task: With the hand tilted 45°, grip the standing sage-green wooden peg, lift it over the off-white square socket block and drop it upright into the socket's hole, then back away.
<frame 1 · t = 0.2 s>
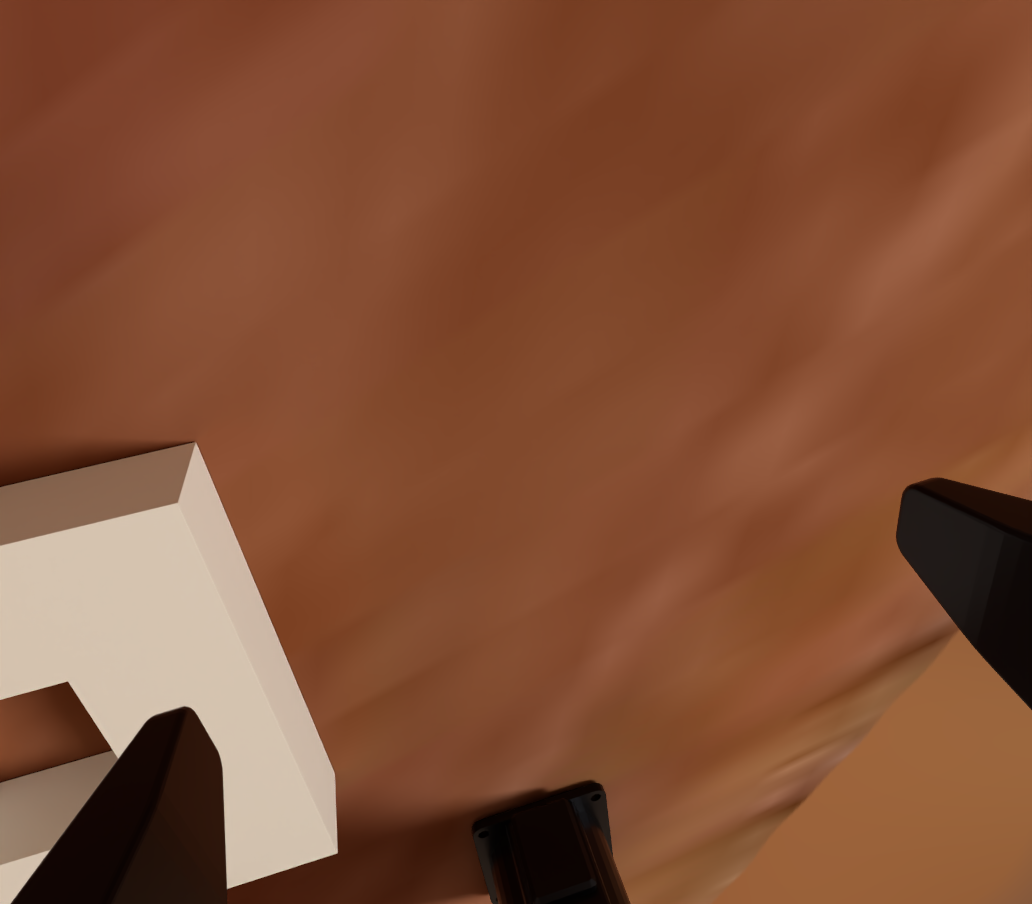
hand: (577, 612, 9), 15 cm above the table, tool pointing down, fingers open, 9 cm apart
socket block: (39, 698, 24), on the table
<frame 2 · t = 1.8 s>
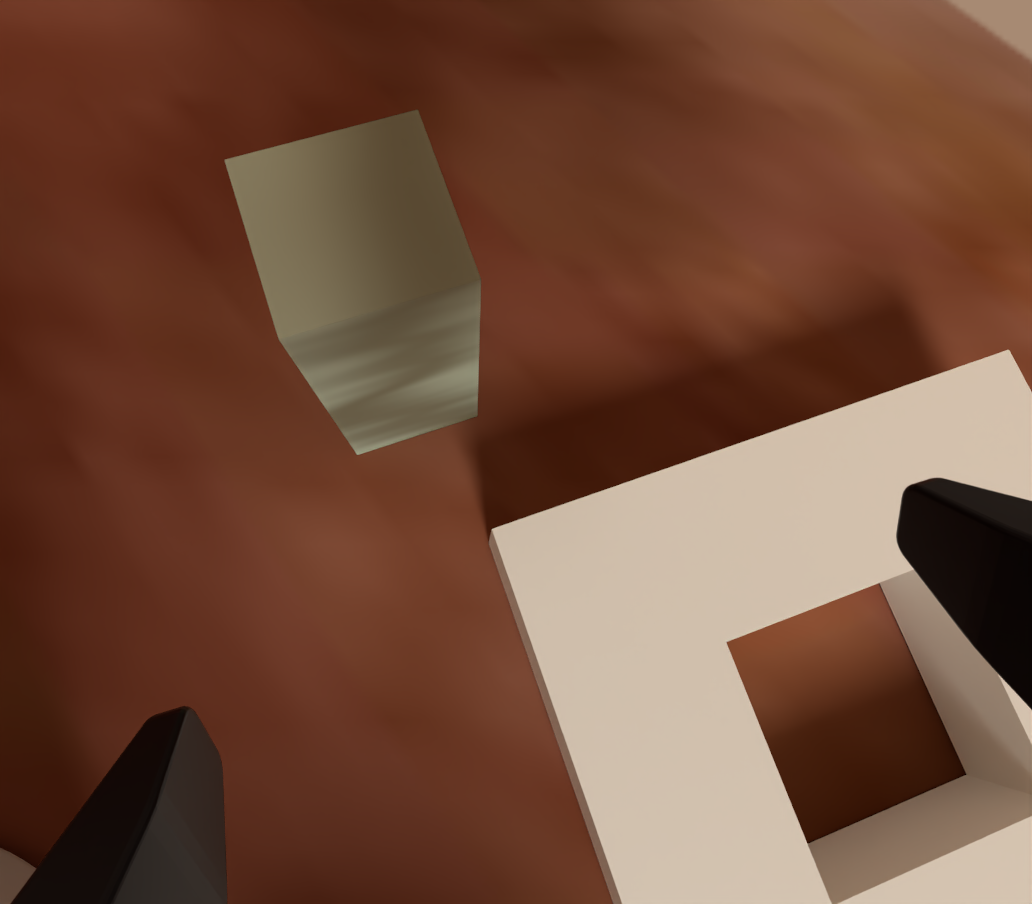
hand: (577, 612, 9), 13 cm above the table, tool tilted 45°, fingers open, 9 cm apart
socket block: (825, 706, 22), on the table
peg: (399, 379, 23), on the table
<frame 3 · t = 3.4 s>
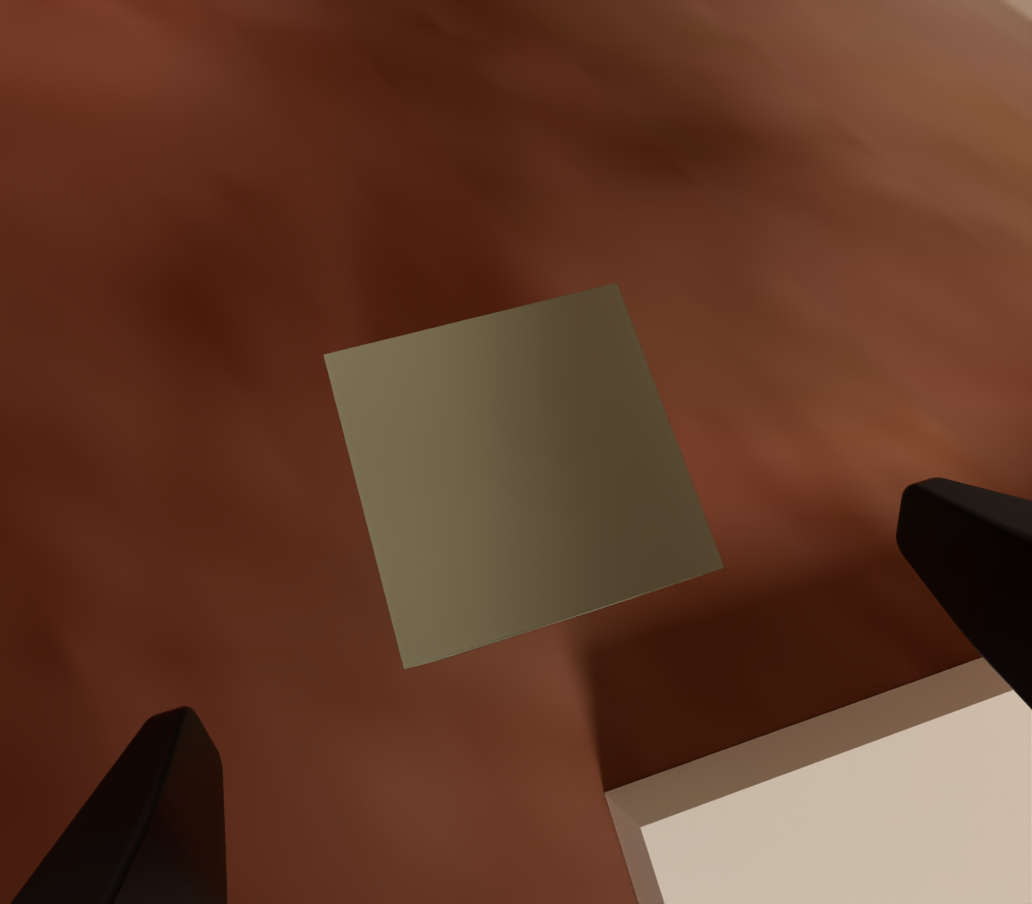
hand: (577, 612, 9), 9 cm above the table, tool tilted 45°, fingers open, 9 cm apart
peg: (489, 558, 18), on the table
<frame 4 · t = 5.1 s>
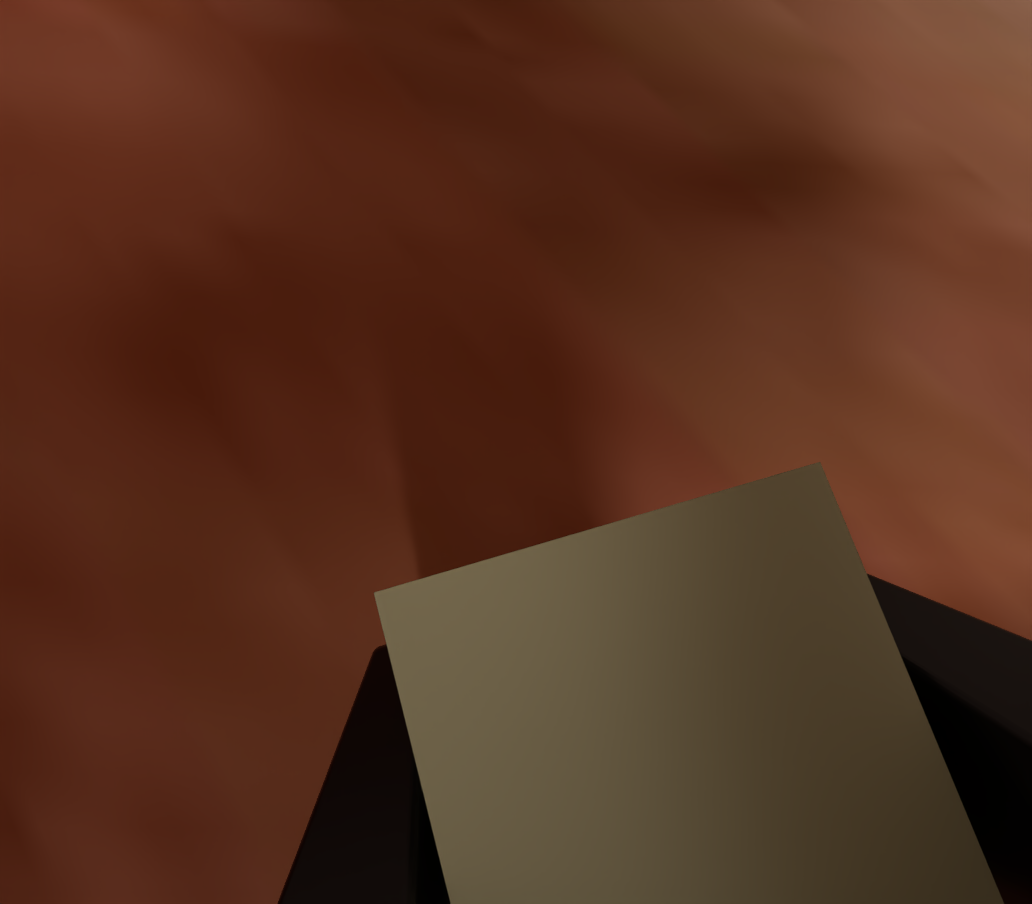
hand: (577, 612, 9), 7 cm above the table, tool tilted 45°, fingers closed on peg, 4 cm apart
peg: (548, 695, 15), on the table, touching gripper
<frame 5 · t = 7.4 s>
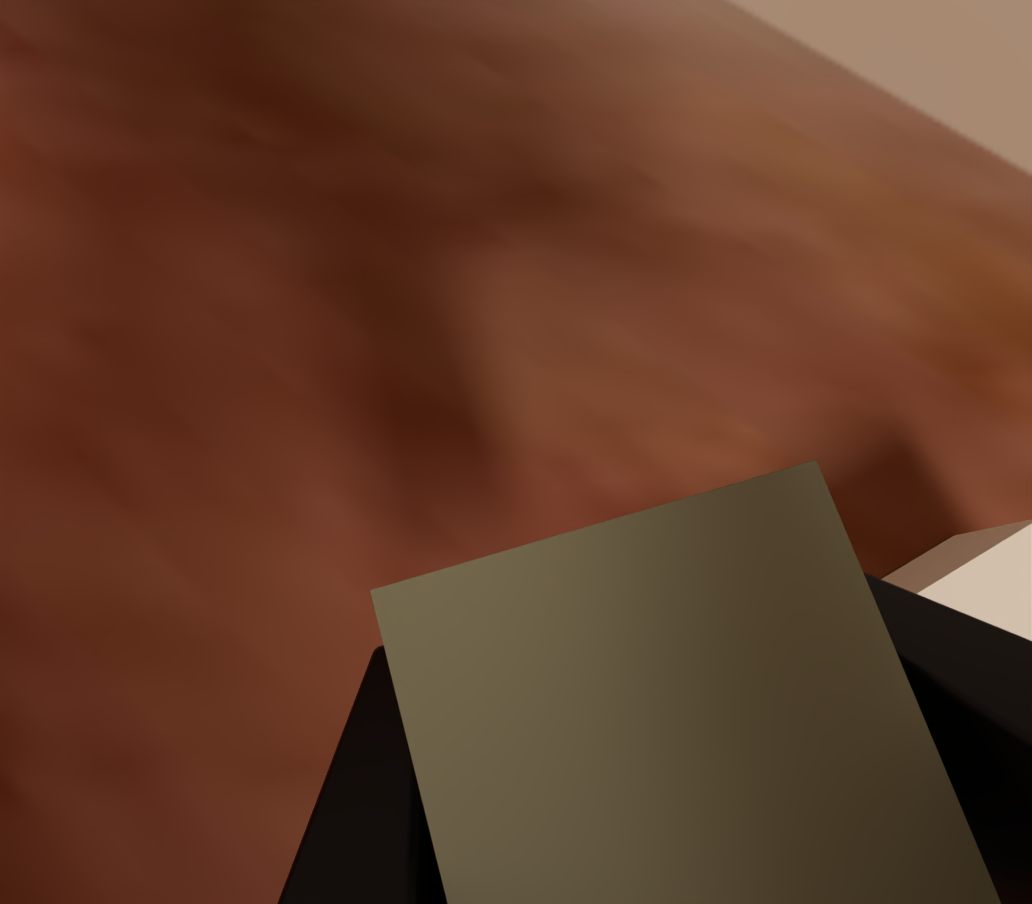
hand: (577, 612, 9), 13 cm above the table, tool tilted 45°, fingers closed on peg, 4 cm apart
peg: (546, 694, 15), point 6 cm above the table, touching gripper
when the fingers open (8 cm above the table, at t = 10.0 s): peg stays where it is, resting in socket block.
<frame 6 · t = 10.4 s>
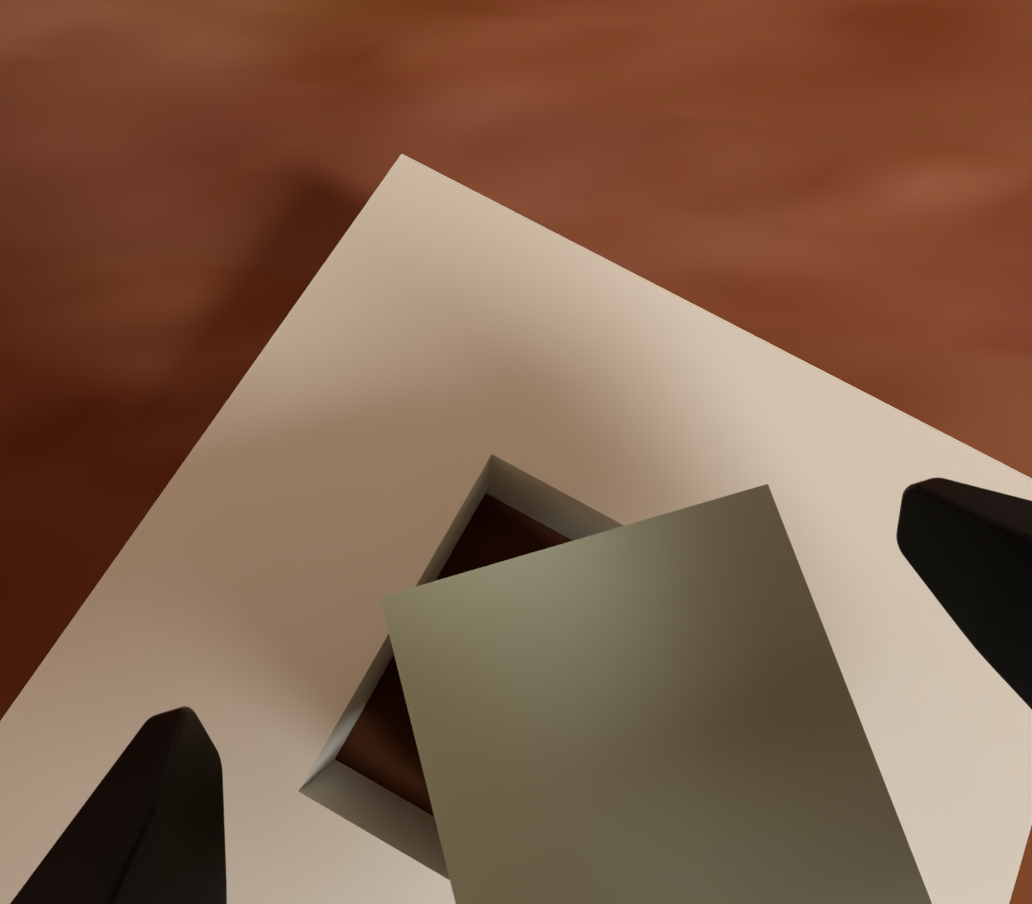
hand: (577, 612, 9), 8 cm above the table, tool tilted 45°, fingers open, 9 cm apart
socket block: (543, 691, 16), on the table
peg: (539, 689, 16), resting in socket block
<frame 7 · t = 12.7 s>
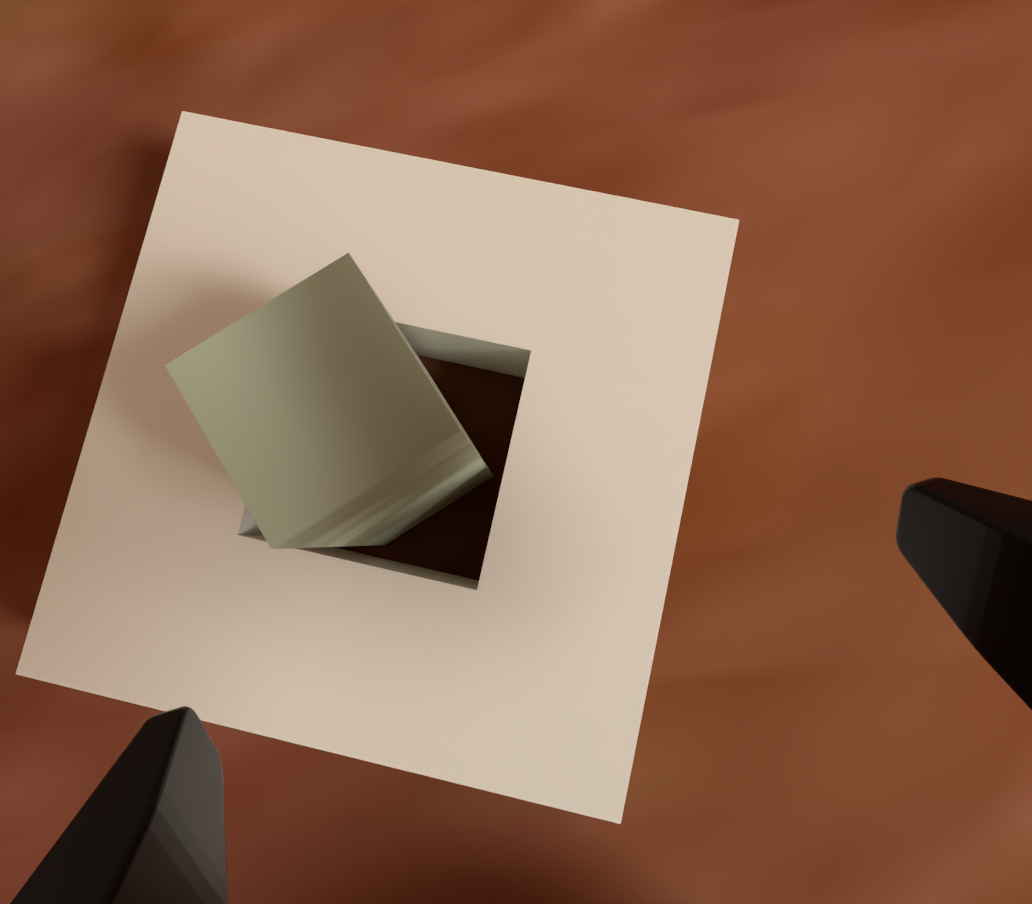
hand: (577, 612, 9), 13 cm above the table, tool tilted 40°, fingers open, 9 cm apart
socket block: (409, 457, 22), on the table
peg: (406, 456, 23), resting in socket block
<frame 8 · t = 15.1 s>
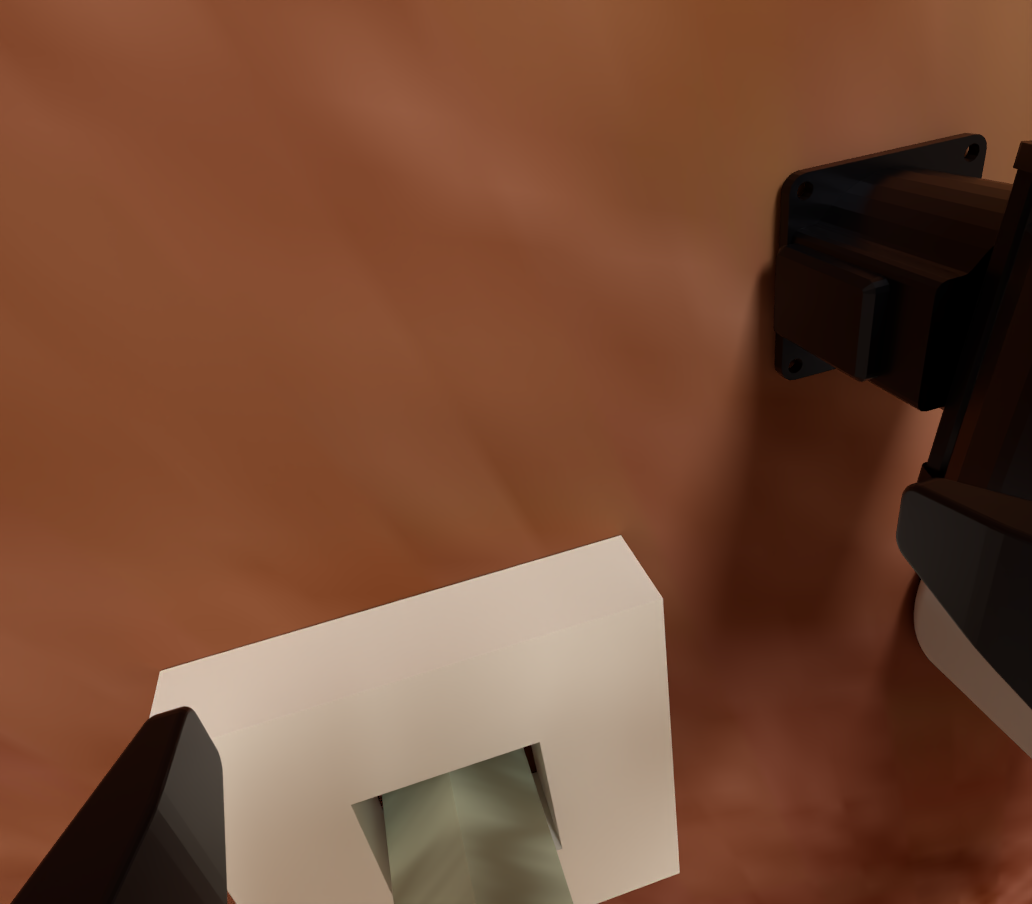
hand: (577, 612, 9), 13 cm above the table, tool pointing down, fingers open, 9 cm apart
cylinder vase: (1022, 555, 33), on the table
socket block: (448, 748, 28), on the table
peg: (448, 748, 29), resting in socket block
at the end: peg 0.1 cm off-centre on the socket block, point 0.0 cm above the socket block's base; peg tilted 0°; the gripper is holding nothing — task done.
